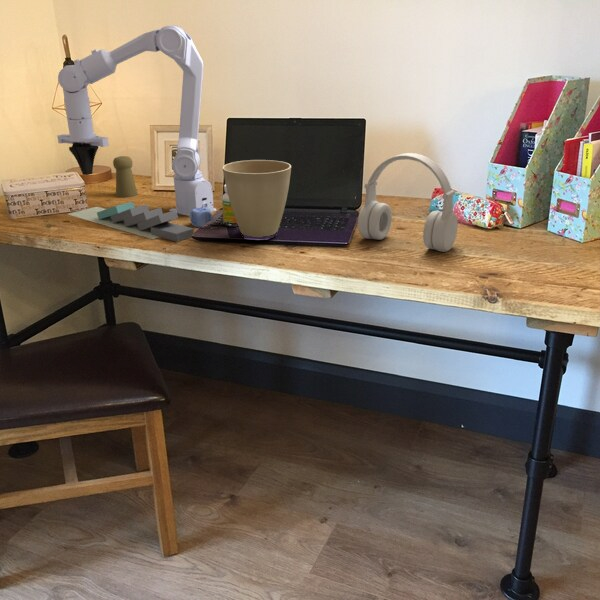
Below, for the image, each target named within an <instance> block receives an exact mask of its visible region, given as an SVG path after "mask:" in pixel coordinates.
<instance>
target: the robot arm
mask: <svg viewBox="0 0 600 600" xmlns="http://www.w3.org/2000/svg"><path fill="white" fill-rule="evenodd" d="M160 51H161V52H162V53H163V54H164V55H166V56H167V57H168V58H171V59H172V60H173V61H174V62H175V63H176V64H177V65H178V67H180V69H181V70H182V73H183V74H182V84H181V85H182V87H181V101H180V102H181V103H180V115H179V116H180V118H179V119H180V120H179V129H178V131H179V132H178V139H177V141H178V142H177V147H176V148H177V149H176V154H175V156H174V157H173V160H172V163H171V167H172V172H173V173H174V174H173V184H174V185H173V186H174V194H175V195H174V198H175V208H170V209H169V212H172V211H175V210H176V212H177V215H178V214H179V215H183V216H188V217H190V214H191V212H192V210H193V209H195V208H208V209H210V211H211V212H216V211H217V208H215V207H214V195H213V194H214V193H213V186H212V184H211V182H209V181H208V180H206V179H205V177H204V176H203V173H202V171H201V170H200V169H199V167H200V164H201V160H202V159H201V154H200V152H199V128H200V127H199V126H200V116H201V103H202V101H201V100H202V91H203V89H202V88H203V78H204V62H203V59H202V57H201V55H200V53H199V51H198V50H197V47H196V45H195V43H194V42H193V39H192V37H191V36H190V35H189V33H187V32H186V30H185V29H183V28H182V27H181V26H178V25H174V24H173V25H166V26H163V27H162V28H159V29H154V30H151V31H148V32H145V33H142V34H141V35H138V36H137V37H135V38H133V39H131V40H130V41H128V42H126V43H124V44H122V45H120V46H119V47H117V48H115V49H113V50H111V51H108V50H106V49H102V48H101V49H99V50H98V48H95V49H93V50H91V54H89V55H87V56H86V57H84V58H81V59H78V58H77V59H74V60H73V63H74V64H71V65H70V64H69V65H67V64H66V65H65V66H64V67H63V68H62V69H60V71H59V72H58V75H57V81H58V84H59V87H61V88H62V91H63V100H64V102H63V103H64V107H65V108H64V109H65V115H66V121H67V127H68V134H66V133H64V134H62V133H61V134H59V135H58V134H57V142H58V144H70V145H71V146H69V147H68V150H69V152H70V153H71V154H72V156H73V157H74V158H75V160H76V162H77V165H78V166H79V169H80V171H81V173H82V175H85V176H88V175H91V174H93V171H94V170H93V169H94V161H95V158H96V154H97V152H98V150H99V147H100V148H104V147H108V146H109V138H108V137H105V136H100V135H97V134H96V133H95V132H94V124H93V118H92V110H91V102H90V97H89V92H88V91H89V90H88V86H89V85H92V84H94V83H97V82H99V81H100V80H102V79H104V78H107V77H109V76H111V75H113V74H114V73H115V72H116V70H117V66H118V65H119V64H121V63H123V62H125V61H128V60H129V59H131V58H133V57H136V56H138V55H140V54H142V53H145V52H153V53H154V52H155V53H156V52H160Z"/></svg>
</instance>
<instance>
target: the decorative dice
mask: <svg viewBox="0 0 600 600" xmlns="http://www.w3.org/2000/svg"><path fill="white" fill-rule="evenodd" d="M189 218H190V219H189V220H190V223H191V225H192V226H193V227H196V228H202V227H201V226H203V225H204V224H205V223H207V222H209V221H214V216H213V213H212V212H211V211H210V209H208V208H195V209H193V210H192V212H191V214H190V216H189Z"/></svg>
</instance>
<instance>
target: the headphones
mask: <svg viewBox="0 0 600 600" xmlns="http://www.w3.org/2000/svg"><path fill="white" fill-rule="evenodd" d="M401 160H409V161H414V162H418V163H421V164H422V165H423V166H425V167H426V168H427V169H429V170H430V172H431V173H432V174H433V175H434V176H435V178H436V179H437V180H438V182H439V185H440V188H441V190H442V192H443V195H442V199H443V205H442V211H440V210H432V211H431V212H430V213H429V214H428V215H427V217H426V220H425V223H424V226H423V231H422V239H423V244H424V246H425V247H426V248H427V249H430V250H435V251H438V252H440V253H447V252H448V251H450V250H451V249H452V248H453V246H454V244H455V242H456V238H457V233H458V228H459V227H458V226H459V225H458V224H459V223H458V217H457V215H456V214H455V212H454V207H453V205H454V200H453V199H454V198H453V197H454V196H455V195H456V192H455V190H454V189H452V186H451V184H450V182H449V179H448V177H447V175H446V174H445V172H444V171H443V169H442V167H440V166H439V164H437V162H435V161H433V160H432V159H431V158H429V157H428V156H425V155H422V154H420V153H415V152H406V153H400V154H398V155H397V154H396V155H394V156H392V157H390V158H387V159H386V160H384V161H382V162H381V163H380V164H379V165H378V166H377V167H376V168H375V169H374V171H373V172H372V174H371V175H370V178H369V179H368V181H367V183H365V184H364V189H365V198H364V204H363V205H362V207H361V208H360V211H359V214H358V217H357V228H358V232H359V234H360V236H361V237H362V238H364V239H367V240H383V239H385V238H386V237H387V235H388V234H389V231H390V229H391V225H392V222H393V221H392V219H393V216H392V215H393V214H392V209H391V206H390V205H389V204H387V203H384V202H380V201H378V200H377V190H376V189H377V188H376V187H377V185H378V182H377V180H378V179H379V177H380V175H381V174H382V173H383V171H384V170H385V169H386V168H387V166H389V165H391V164H392V163H393V162H397V161H401Z"/></svg>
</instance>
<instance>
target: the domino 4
mask: <svg viewBox="0 0 600 600" xmlns="http://www.w3.org/2000/svg"><path fill="white" fill-rule="evenodd" d="M176 219H179V216H178V213H177V212H176V210H175V211H172V212H170V211H169V212H163V214H161V215H158V216H155V217H153V218H150V219H148V220H145V221H142V222H140V223H137V225H138V228H139V231H142V230H145V229H148V228H151V227H152V226H155V225H159V224H162V223H166V222H171V221H174V220H176Z"/></svg>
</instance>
